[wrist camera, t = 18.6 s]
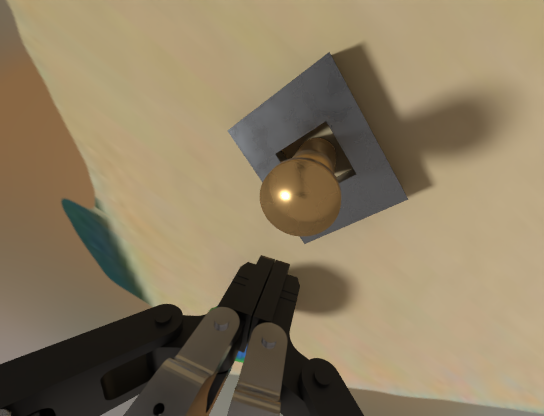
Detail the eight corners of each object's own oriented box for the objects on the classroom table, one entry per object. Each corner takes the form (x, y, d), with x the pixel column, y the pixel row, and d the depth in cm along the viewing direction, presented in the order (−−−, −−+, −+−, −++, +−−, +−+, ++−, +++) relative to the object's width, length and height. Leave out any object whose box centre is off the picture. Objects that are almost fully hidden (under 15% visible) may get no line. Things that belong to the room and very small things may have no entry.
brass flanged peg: (281, 149, 34) (244, 186, 22) (326, 120, 31) (312, 144, 19) (307, 190, 35) (287, 247, 23) (352, 166, 33) (356, 216, 20)
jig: (236, 127, 34) (227, 130, 32) (330, 55, 28) (329, 52, 26) (307, 233, 38) (304, 243, 36) (403, 189, 32) (408, 199, 30)
